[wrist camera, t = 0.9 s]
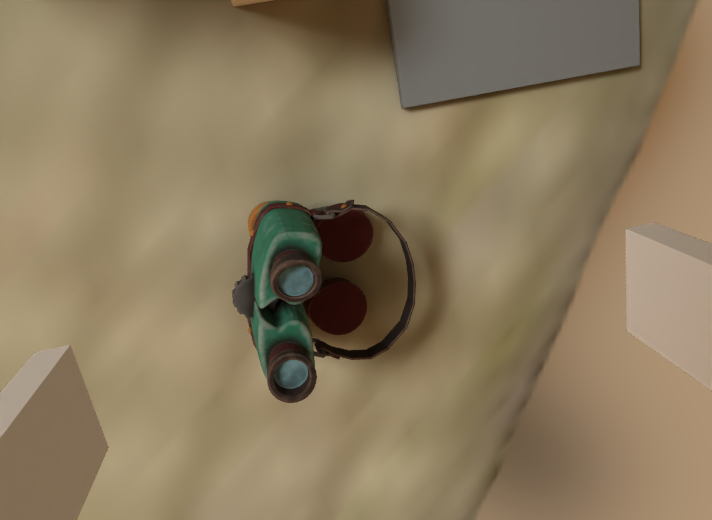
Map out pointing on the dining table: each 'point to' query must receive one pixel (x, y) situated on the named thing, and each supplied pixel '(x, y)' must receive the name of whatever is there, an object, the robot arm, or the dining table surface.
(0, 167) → the dining table surface
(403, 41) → the mat
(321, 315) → the binoculars
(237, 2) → the wooden block
